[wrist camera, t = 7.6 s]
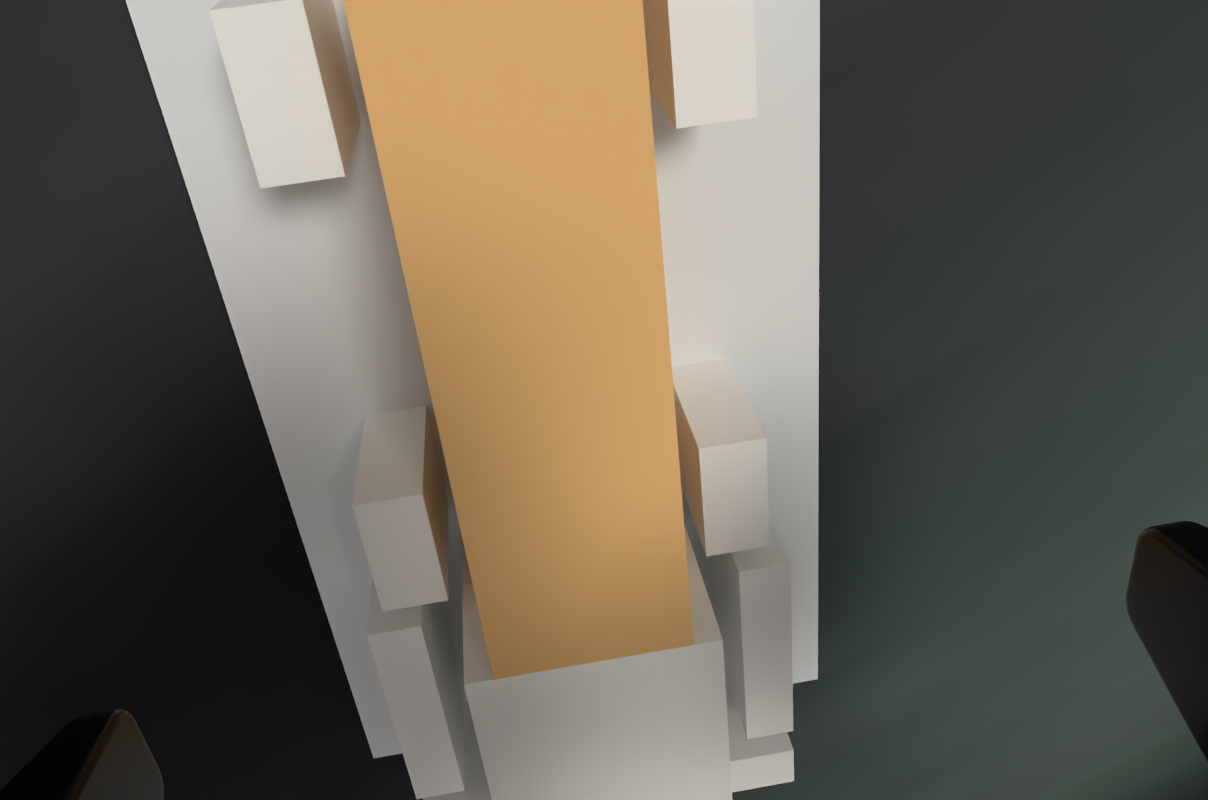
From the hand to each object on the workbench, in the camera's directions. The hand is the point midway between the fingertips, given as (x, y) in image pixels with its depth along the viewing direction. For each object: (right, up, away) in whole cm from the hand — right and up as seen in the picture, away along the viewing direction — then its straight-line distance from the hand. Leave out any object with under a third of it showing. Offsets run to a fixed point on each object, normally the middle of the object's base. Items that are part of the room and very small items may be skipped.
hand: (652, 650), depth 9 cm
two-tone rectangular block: (-2, +3, +11) cm, 11 cm away
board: (-2, +3, +12) cm, 12 cm away
